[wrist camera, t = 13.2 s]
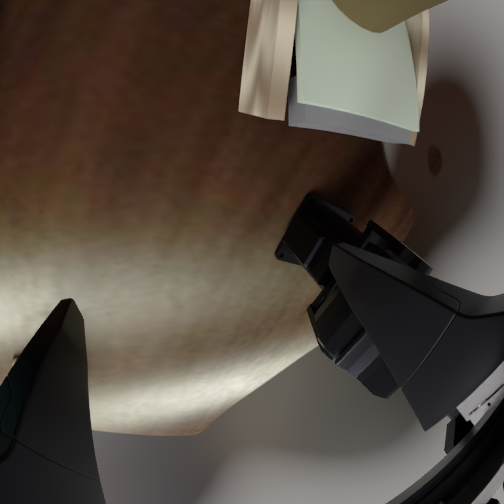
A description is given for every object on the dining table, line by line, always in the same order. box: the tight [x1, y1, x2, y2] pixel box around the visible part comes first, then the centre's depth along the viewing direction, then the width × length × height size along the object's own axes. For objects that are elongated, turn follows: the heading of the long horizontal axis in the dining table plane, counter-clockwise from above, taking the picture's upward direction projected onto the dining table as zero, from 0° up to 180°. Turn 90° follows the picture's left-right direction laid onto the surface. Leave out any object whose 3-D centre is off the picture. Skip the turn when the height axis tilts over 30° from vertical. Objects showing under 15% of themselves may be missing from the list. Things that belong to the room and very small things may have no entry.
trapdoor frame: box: [239, 0, 430, 146], centre depth 13 cm, size 16×13×5 cm
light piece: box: [288, 0, 419, 144], centre depth 12 cm, size 15×10×3 cm, turn 175°
